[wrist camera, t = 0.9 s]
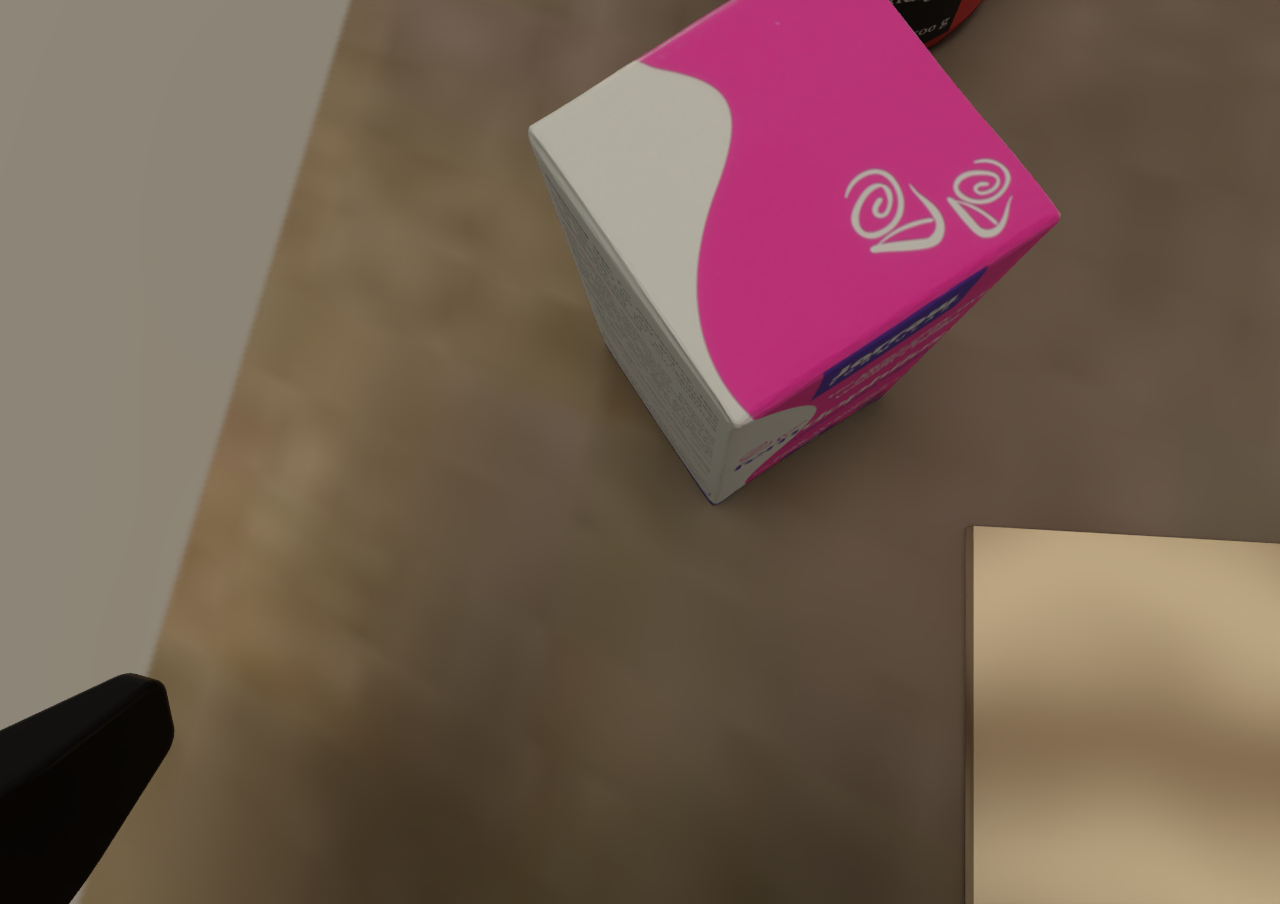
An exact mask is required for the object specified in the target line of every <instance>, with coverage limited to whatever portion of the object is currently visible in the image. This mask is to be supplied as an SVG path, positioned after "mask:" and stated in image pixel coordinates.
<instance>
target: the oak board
mask: <svg viewBox="0 0 1280 904" xmlns="http://www.w3.org/2000/svg"><path fill="white" fill-rule="evenodd" d="M965 904H1280V544H1273V543H1256V542H1239V541H1222V540H1205V539H1188V538H1171V537H1154V536H1137V535H1120V534H1103V533H1085V532H1068V531H1051V530H1034V529H1017V528H1000V527H983V526H972V527H968V528H966V759H965Z"/></svg>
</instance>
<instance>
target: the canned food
mask: <svg viewBox="0 0 1280 904" xmlns="http://www.w3.org/2000/svg"><path fill="white" fill-rule="evenodd" d="M889 1H890V2H891V3H892V4H893V6H894V7H895V8H896V9H897V11H898V12H899V13H900V15H901V16H902V17H903V18H904V20H905V21H906V22H907V24H908V25H909V26H910V27H911V29H912V30H913V31H914V32H915V34H916V35H917V36H918V38H919V39H920V40H921V41H922V43H923V44H924V45H925V47H926V48H928V47H930V46H932V45H934V44H936V43H938V42H939V41H940V40H941V39H943V38H944V37H945V36H947V35H948V34H949V33H950V32H952V31H953V30H954V29H955V28H957V27H958V26H959V25H960V24H961V23H962V22H963V21H964V20H965V19H966V18H967V17H968V16H969V15H970V14H971V13H972V12H973V11H974V9H975V8H976V7H977V6H978V5H979V4H980V3H981V1H982V0H889Z"/></svg>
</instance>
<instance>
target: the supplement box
mask: <svg viewBox="0 0 1280 904" xmlns="http://www.w3.org/2000/svg"><path fill="white" fill-rule="evenodd" d="M528 137H529V140H530V143H531V146H532V149H533V152H534V154H535V157H536V160H537V162H538V165H539V167H540V169H541V172H542V175H543V178H544V180H545V183H546V186H547V188H548V191H549V194H550V197H551V199H552V202H553V205H554V207H555V210H556V213H557V216H558V218H559V221H560V224H561V227H562V229H563V232H564V235H565V237H566V240H567V243H568V245H569V248H570V251H571V254H572V256H573V259H574V261H575V264H576V267H577V270H578V273H579V276H580V278H581V281H582V284H583V286H584V289H585V292H586V295H587V298H588V300H589V303H590V306H591V309H592V311H593V314H594V316H595V319H596V321H597V324H598V327H599V329H600V332H601V335H602V337H603V340H604V341H605V344H606V346H607V348H608V349H609V351H610V352H611V354H612V355H613V357H614V358H615V360H616V361H617V363H618V365H619V366H620V368H621V369H622V371H623V372H624V374H625V375H626V377H627V378H628V380H629V381H630V383H631V384H632V386H633V388H634V389H635V391H636V392H637V394H638V395H639V397H640V398H641V400H642V401H643V403H644V404H645V406H646V408H647V409H648V411H649V412H650V414H651V415H652V417H653V418H654V420H655V421H656V423H657V424H658V426H659V427H660V429H661V430H662V432H663V433H664V435H665V436H666V438H667V439H668V441H669V442H670V444H671V445H672V447H673V448H674V450H675V451H676V453H677V455H678V456H679V458H680V459H681V461H682V462H683V464H684V465H685V467H686V468H687V470H688V471H689V473H690V474H691V476H692V477H693V479H694V480H695V482H696V483H697V485H698V486H699V488H700V489H701V491H702V492H703V494H704V495H705V496H706V498H707V499H708V501H709V502H710V503H711V504H713V505H717V504H719V503H721V502H722V501H723V500H725V499H726V498H727V497H729V496H730V495H732V494H733V493H734V492H736V491H737V490H738V489H740V488H741V487H742V486H744V485H745V484H747V483H748V482H749V481H751V480H752V479H754V478H755V477H757V476H758V475H759V474H761V473H762V472H764V471H765V470H767V469H768V468H770V467H771V466H773V465H774V464H776V463H778V462H779V461H781V460H782V459H784V458H785V457H787V456H788V455H790V454H791V453H793V452H794V451H796V450H797V449H799V448H800V447H802V446H803V445H805V444H806V443H808V442H809V441H811V440H813V439H814V438H816V437H817V436H819V435H820V434H822V433H823V432H825V431H826V430H828V429H829V428H831V427H832V426H834V425H836V424H837V423H839V422H840V421H842V420H843V419H845V418H846V417H848V416H850V415H851V414H853V413H855V412H857V411H858V410H860V409H862V408H864V407H865V406H867V405H868V404H870V403H872V402H873V401H875V400H877V399H879V398H880V397H882V396H883V395H884V394H885V393H886V392H887V391H888V390H889V389H890V388H891V387H892V386H893V385H894V384H895V383H896V382H897V381H898V380H899V379H900V378H901V377H902V376H903V375H904V374H905V373H906V372H907V371H908V370H909V369H910V368H911V367H912V366H913V365H914V364H915V363H916V362H917V361H918V360H919V359H920V358H921V357H922V356H923V355H924V354H925V353H926V352H927V351H928V350H929V349H930V348H931V347H932V346H933V345H934V344H935V343H936V342H937V341H938V340H939V339H940V338H941V337H942V336H943V335H944V334H945V333H946V332H947V331H949V329H950V328H951V327H952V326H953V325H954V324H955V323H956V322H957V321H958V320H959V319H960V318H961V317H962V316H963V315H964V314H965V313H966V312H967V311H968V310H969V309H970V308H971V307H972V306H973V305H974V304H975V303H976V302H977V301H978V300H979V299H980V298H981V297H982V296H983V295H984V294H985V293H986V292H987V291H988V290H989V289H990V288H991V287H992V286H993V285H994V284H995V283H996V282H997V281H998V280H999V279H1001V278H1002V277H1003V276H1004V275H1005V274H1006V273H1007V272H1008V271H1009V270H1010V269H1011V268H1012V267H1013V266H1014V265H1015V264H1016V263H1017V262H1018V261H1019V260H1020V259H1021V258H1022V257H1023V256H1024V255H1025V254H1026V253H1027V252H1028V251H1029V250H1030V249H1031V248H1032V247H1033V246H1034V245H1035V244H1036V243H1037V242H1038V241H1039V240H1040V239H1041V238H1042V237H1043V236H1044V235H1045V234H1046V233H1047V232H1048V231H1050V230H1051V229H1052V228H1053V227H1054V226H1055V225H1056V224H1057V223H1058V221H1059V219H1060V215H1061V214H1060V213H1059V211H1058V210H1057V208H1056V207H1055V206H1054V204H1053V203H1052V201H1051V200H1050V199H1049V197H1048V196H1047V195H1046V193H1045V192H1044V191H1043V189H1042V188H1041V187H1040V185H1039V184H1038V183H1037V182H1036V181H1035V180H1034V178H1033V177H1032V176H1031V174H1030V173H1029V172H1028V171H1027V169H1026V168H1025V167H1024V166H1023V165H1022V163H1021V162H1020V161H1019V160H1018V158H1017V157H1016V156H1015V155H1014V153H1013V152H1012V151H1011V150H1010V149H1009V148H1008V146H1007V145H1006V144H1005V143H1004V142H1003V140H1002V139H1001V138H1000V137H999V136H998V135H997V133H996V132H995V131H994V130H993V129H992V128H991V127H990V125H989V124H988V123H987V122H986V121H985V120H984V119H983V117H982V116H981V115H980V114H979V113H978V112H977V111H976V109H975V108H974V107H973V106H972V104H971V103H970V102H969V101H968V99H967V98H966V97H965V96H964V95H963V93H962V92H961V91H960V90H959V89H958V87H957V86H956V85H955V84H954V82H953V81H952V80H951V78H950V77H949V76H948V75H947V73H946V72H945V71H944V70H943V69H942V67H941V66H940V65H939V64H938V62H937V61H936V60H935V58H934V57H933V56H932V54H931V53H930V52H929V50H928V49H927V48H926V47H925V45H924V44H923V43H922V41H921V40H920V39H919V38H918V36H917V35H916V34H915V32H914V31H913V30H912V29H911V27H910V26H909V25H908V24H907V22H906V21H905V20H904V18H903V17H902V16H901V15H900V13H899V12H898V11H897V9H896V8H895V7H894V6H893V4H892V3H891V2H890V1H889V0H729V1H727V2H726V3H724V4H722V5H721V6H719V7H718V8H716V9H714V10H713V11H711V12H709V13H708V14H706V15H705V16H703V17H702V18H700V19H698V20H697V21H695V22H694V23H692V24H690V25H689V26H687V27H686V28H684V29H683V30H681V31H680V32H678V33H677V34H675V35H674V36H672V37H671V38H669V39H668V40H666V41H664V42H663V43H661V44H660V45H658V46H656V47H655V48H653V49H652V50H650V51H648V52H647V53H645V54H644V55H642V56H640V57H639V58H637V59H636V60H634V61H633V62H631V63H630V64H628V65H626V66H625V67H623V68H621V69H620V70H618V71H617V72H616V73H614V74H613V75H611V76H609V77H608V78H606V79H605V80H603V81H602V82H600V83H599V84H597V85H595V86H594V87H592V88H591V89H589V90H588V91H586V92H585V93H583V94H582V95H580V96H579V97H577V98H575V99H574V100H572V101H570V102H569V103H567V104H566V105H564V106H563V107H561V108H559V109H558V110H556V111H554V112H553V113H551V114H549V115H548V116H546V117H544V118H543V119H541V120H539V121H538V122H536V123H534V124H533V125H531V126H530V127H529V131H528Z"/></svg>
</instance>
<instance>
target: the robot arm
mask: <svg viewBox="0 0 1280 904" xmlns="http://www.w3.org/2000/svg"><path fill="white" fill-rule="evenodd" d="M173 738H174V724H173V720H172V715H171V710H170V706H169V701H168V696H167V692H166V688H165V686H164V684H162V683H161V682H160V681H159V680H156V679H152V678H149V677H145V676H141V675H138V674H132V673H127V674H122V675H119V676H116V677H114V678H112V679H110V680H107V681H105V682H103V683H101V684H99V685H97V686H95V687H92V688H90V689H88V690H86V691H84V692H82V693H80V694H78V695H75V696H73V697H71V698H69V699H67V700H64V701H62V702H60V703H58V704H56V705H54V706H52V707H50V708H48V709H45V710H43V711H41V712H39V713H37V714H34V715H32V716H30V717H28V718H26V719H24V720H22V721H20V722H18V723H15V724H13V725H11V726H9V727H7V728H4V729H2V730H0V904H69V903H70V902H71V900H72V899H73V898H74V896H75V895H76V894H77V892H78V891H79V890H80V888H81V887H82V885H83V884H84V883H85V881H86V880H87V878H88V877H89V876H90V874H91V873H92V871H93V870H94V868H95V867H96V865H97V864H98V862H99V861H100V859H101V858H102V856H103V854H104V853H105V851H106V850H107V848H108V847H109V845H110V843H111V842H112V840H113V839H114V837H115V835H116V834H117V832H118V831H119V829H120V828H121V826H122V824H123V823H124V821H125V820H126V818H127V816H128V815H129V813H130V812H131V810H132V809H133V807H134V805H135V804H136V802H137V801H138V799H139V797H140V796H141V794H142V793H143V791H144V790H145V788H146V786H147V785H148V783H149V782H150V780H151V778H152V777H153V775H154V774H155V772H156V771H157V769H158V767H159V766H160V764H161V763H162V761H163V760H164V758H165V756H166V755H167V753H168V751H169V749H170V747H171V745H172V742H173Z"/></svg>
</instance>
